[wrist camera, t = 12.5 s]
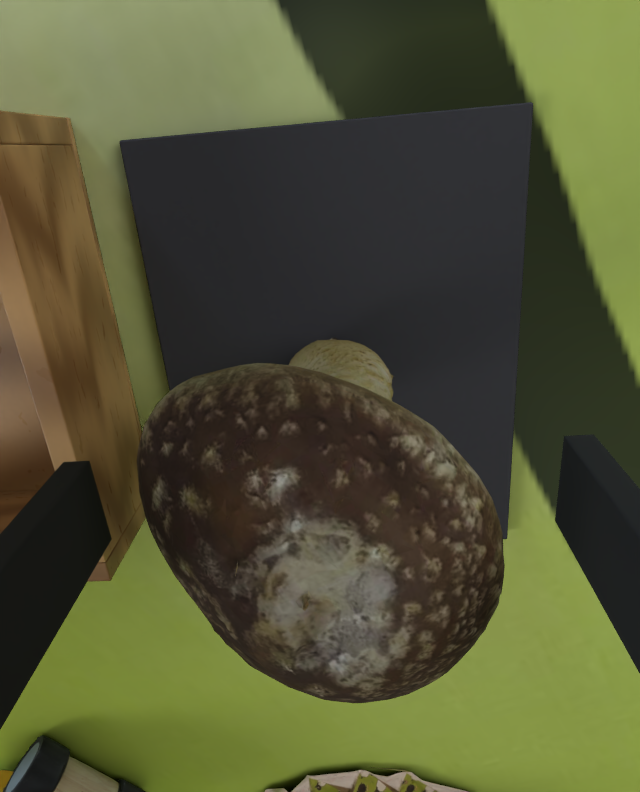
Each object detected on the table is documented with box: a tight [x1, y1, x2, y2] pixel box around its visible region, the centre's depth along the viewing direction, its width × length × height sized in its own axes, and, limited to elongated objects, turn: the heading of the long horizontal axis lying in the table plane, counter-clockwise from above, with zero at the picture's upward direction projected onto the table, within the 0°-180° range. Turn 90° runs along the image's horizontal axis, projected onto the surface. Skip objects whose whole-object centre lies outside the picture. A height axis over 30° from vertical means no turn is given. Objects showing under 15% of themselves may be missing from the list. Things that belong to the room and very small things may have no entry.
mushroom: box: [137, 337, 504, 703], centre depth 19 cm, size 9×9×15 cm
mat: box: [120, 102, 533, 539], centre depth 26 cm, size 20×16×1 cm
